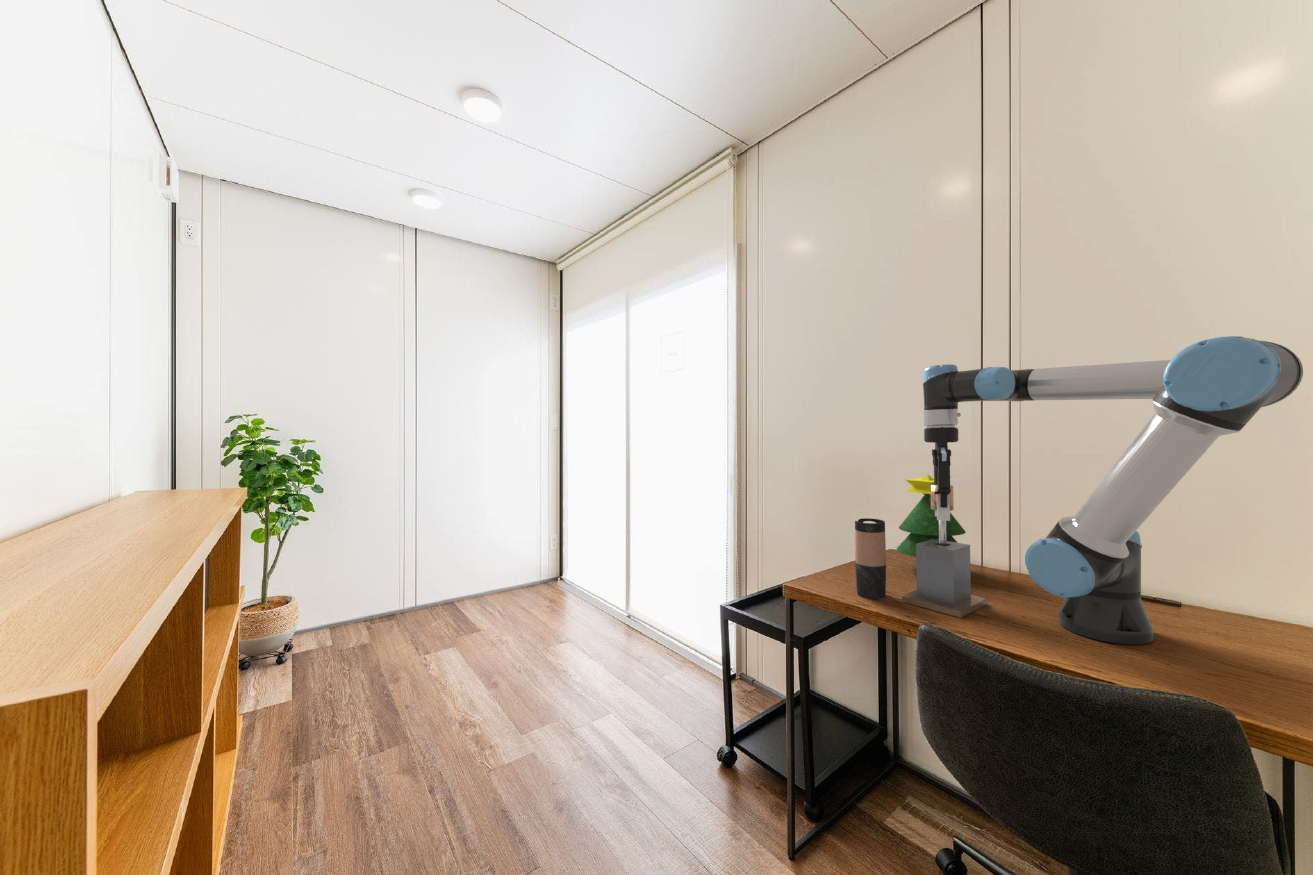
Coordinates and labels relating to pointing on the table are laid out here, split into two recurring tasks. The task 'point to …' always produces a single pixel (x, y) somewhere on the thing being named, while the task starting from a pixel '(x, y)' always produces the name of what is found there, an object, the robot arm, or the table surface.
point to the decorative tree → (924, 520)
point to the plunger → (934, 506)
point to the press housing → (944, 579)
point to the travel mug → (870, 558)
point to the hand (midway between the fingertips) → (942, 518)
